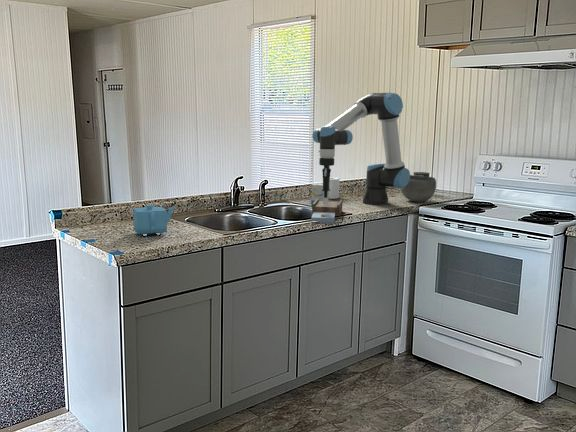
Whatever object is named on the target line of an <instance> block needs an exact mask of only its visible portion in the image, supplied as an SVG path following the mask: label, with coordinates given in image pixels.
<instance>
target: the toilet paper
mask: <svg viewBox="0 0 576 432" xmlns="http://www.w3.org/2000/svg"><path fill="white" fill-rule="evenodd" d="M340 180H341V179H340V177H339V178H338V177H331V176H330V182H329V189H330V191H329V199H331V200H332V199H339V198H340Z"/></svg>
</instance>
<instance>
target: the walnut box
mask: <svg viewBox="0 0 576 432" xmlns="http://www.w3.org/2000/svg"><path fill="white" fill-rule="evenodd" d="M311 210H312V211H311V216H312V215H313V212H335V216H339V215H340V216H341V214H342V212H343V199H339V201H331V200H330V201H329V204H323V201H319V199H316V200H315V202H314V203H313V204H312V205H311ZM340 213H341V214H340Z"/></svg>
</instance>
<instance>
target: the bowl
mask: <svg viewBox="0 0 576 432" xmlns="http://www.w3.org/2000/svg"><path fill="white" fill-rule="evenodd" d="M400 189H401V190H400V191H401V193H402V195H403V196H404V198H406V199H407V200H409V201H412V202H416V203H417V202H418V203H420V202H422V203H423V202H427V201H429V200H430V199H432V197H433V196H434V194H435V192H436V189H437V179H436V178H435V177H433V176H429V177H425V176H417V175H414V174H410V179H409V182H408V184H407V185H406V186H405V187H404V188H400Z"/></svg>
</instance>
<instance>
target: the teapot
mask: <svg viewBox="0 0 576 432" xmlns="http://www.w3.org/2000/svg"><path fill="white" fill-rule="evenodd" d="M177 208H178V207H177V206H172V207H170V208H168V212H167V210H166V209H165V208H164V207H162V206H154V205H153V204H146V206H145V207H133V208H132V209H133V210H132V211H133V230H134V231H135V232H136V234H137V235H142V234H148V235H149V234H156V233H161V234H162V233H168V225H167V224H168V223H169V222H170V220H171V217H172V213H173V211H174V210H175V209H177Z"/></svg>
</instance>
